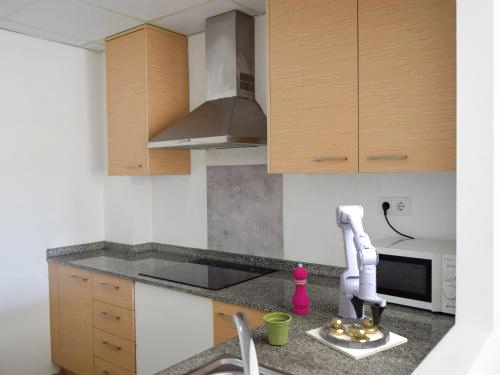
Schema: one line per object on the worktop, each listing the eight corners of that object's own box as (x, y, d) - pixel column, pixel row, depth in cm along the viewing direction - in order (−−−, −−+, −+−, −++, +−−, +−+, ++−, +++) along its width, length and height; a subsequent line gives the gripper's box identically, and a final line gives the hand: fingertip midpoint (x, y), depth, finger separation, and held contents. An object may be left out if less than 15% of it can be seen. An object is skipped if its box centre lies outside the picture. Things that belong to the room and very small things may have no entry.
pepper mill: (290, 314, 168) (289, 265, 167) (294, 308, 175) (293, 261, 174) (307, 316, 166) (306, 266, 165) (311, 310, 172) (310, 262, 171)
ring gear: (308, 331, 147) (308, 326, 147) (354, 318, 159) (354, 313, 158) (355, 355, 128) (355, 348, 128) (403, 338, 139) (403, 332, 139)
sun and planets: (325, 331, 147) (324, 318, 147) (343, 326, 152) (342, 313, 151) (360, 348, 133) (360, 334, 133) (379, 341, 137) (379, 328, 137)
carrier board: (305, 334, 147) (305, 331, 147) (354, 320, 160) (354, 317, 160) (355, 360, 127) (355, 356, 127) (407, 341, 139) (407, 338, 139)
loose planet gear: (356, 329, 148) (356, 317, 148) (368, 326, 151) (368, 314, 151) (369, 335, 143) (369, 322, 142) (381, 331, 146) (381, 319, 145)
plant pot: (271, 350, 135) (271, 324, 134) (259, 339, 143) (258, 315, 143) (296, 345, 138) (296, 319, 138) (283, 335, 147) (283, 310, 147)
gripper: (392, 285, 142) (392, 325, 142) (360, 277, 154) (360, 313, 155) (377, 289, 138) (377, 329, 139) (346, 279, 150) (346, 317, 151)
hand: (367, 321), depth 146 cm, fingers open, 7 cm apart
